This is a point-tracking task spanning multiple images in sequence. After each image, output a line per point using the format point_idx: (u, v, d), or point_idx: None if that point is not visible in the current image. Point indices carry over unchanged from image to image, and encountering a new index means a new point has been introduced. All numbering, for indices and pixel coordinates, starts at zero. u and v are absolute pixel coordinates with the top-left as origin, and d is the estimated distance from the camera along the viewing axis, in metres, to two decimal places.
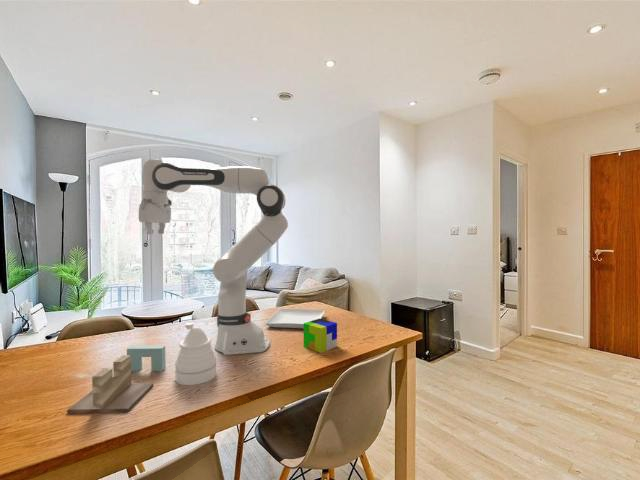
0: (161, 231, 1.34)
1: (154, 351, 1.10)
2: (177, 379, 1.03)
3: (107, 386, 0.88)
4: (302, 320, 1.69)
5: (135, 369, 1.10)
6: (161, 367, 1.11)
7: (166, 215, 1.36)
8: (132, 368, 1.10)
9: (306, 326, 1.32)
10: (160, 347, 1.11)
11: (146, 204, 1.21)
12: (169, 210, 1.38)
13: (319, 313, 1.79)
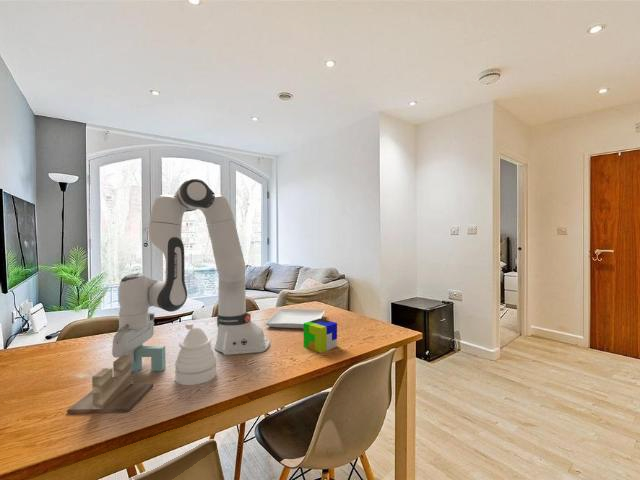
0: None
1: (154, 351, 1.10)
2: (177, 379, 1.03)
3: (107, 386, 0.88)
4: (302, 320, 1.69)
5: (135, 369, 1.10)
6: (161, 367, 1.11)
7: (148, 332, 1.17)
8: (132, 368, 1.10)
9: (306, 326, 1.32)
10: (160, 347, 1.11)
11: (121, 336, 1.02)
12: (151, 324, 1.19)
13: (319, 313, 1.79)
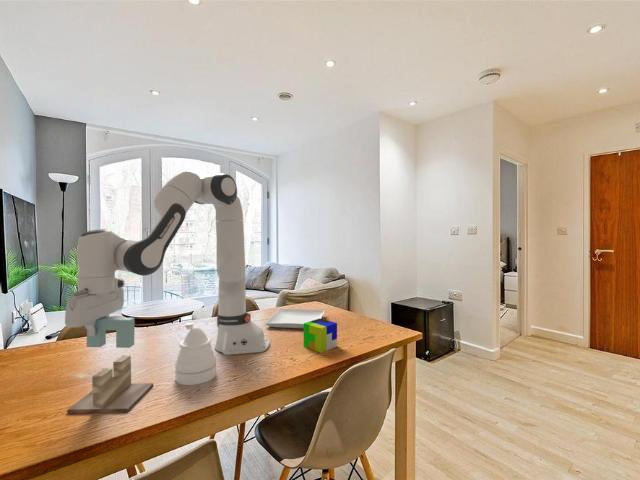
0: None
1: (120, 323, 0.91)
2: (177, 379, 1.03)
3: (107, 386, 0.88)
4: (302, 320, 1.69)
5: (97, 345, 0.91)
6: (128, 343, 0.91)
7: (115, 301, 0.98)
8: (93, 344, 0.91)
9: (306, 326, 1.32)
10: (128, 319, 0.92)
11: (77, 301, 0.83)
12: (121, 293, 1.00)
13: (319, 313, 1.79)
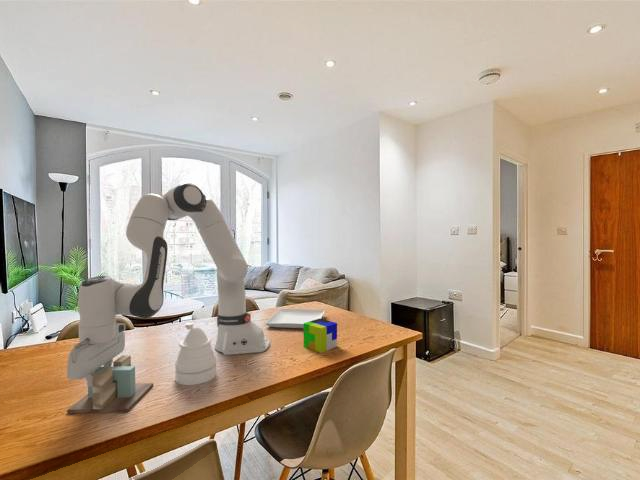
0: None
1: (121, 373, 0.91)
2: (177, 379, 1.03)
3: (107, 386, 0.88)
4: (302, 320, 1.69)
5: None
6: (129, 392, 0.92)
7: (117, 346, 0.98)
8: None
9: (306, 326, 1.32)
10: (128, 368, 0.92)
11: (79, 353, 0.83)
12: (122, 336, 1.00)
13: (319, 313, 1.79)
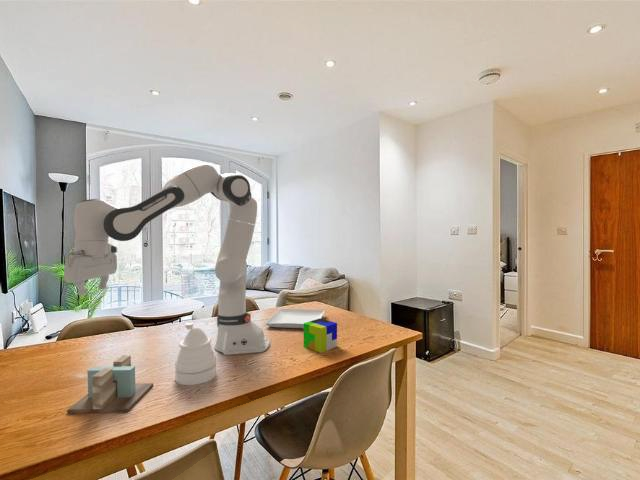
0: (102, 286, 1.07)
1: (121, 373, 0.91)
2: (177, 379, 1.03)
3: (107, 386, 0.88)
4: (302, 320, 1.69)
5: None
6: (129, 392, 0.92)
7: (109, 265, 1.09)
8: None
9: (306, 326, 1.32)
10: (128, 368, 0.92)
11: (74, 259, 0.94)
12: (114, 258, 1.11)
13: (319, 313, 1.79)
